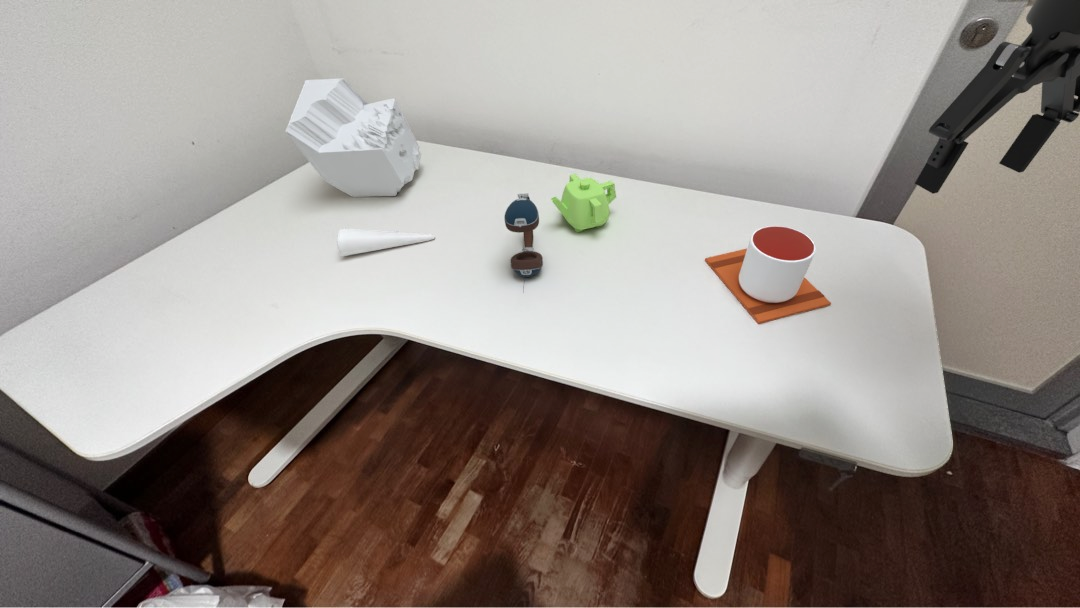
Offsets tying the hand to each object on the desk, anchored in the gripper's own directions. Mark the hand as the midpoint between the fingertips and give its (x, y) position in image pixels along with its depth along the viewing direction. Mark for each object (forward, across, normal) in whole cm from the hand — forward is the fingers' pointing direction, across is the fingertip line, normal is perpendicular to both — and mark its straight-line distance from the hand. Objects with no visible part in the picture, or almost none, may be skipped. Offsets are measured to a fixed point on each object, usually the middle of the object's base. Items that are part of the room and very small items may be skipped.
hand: (969, 177), depth 59 cm
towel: (+26, +12, -14) cm, 32 cm away
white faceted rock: (+26, +81, -77) cm, 115 cm away
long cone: (+26, +80, -50) cm, 98 cm away
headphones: (+26, +53, -33) cm, 68 cm away
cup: (+25, +13, -12) cm, 31 cm away
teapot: (+26, +37, -44) cm, 63 cm away
